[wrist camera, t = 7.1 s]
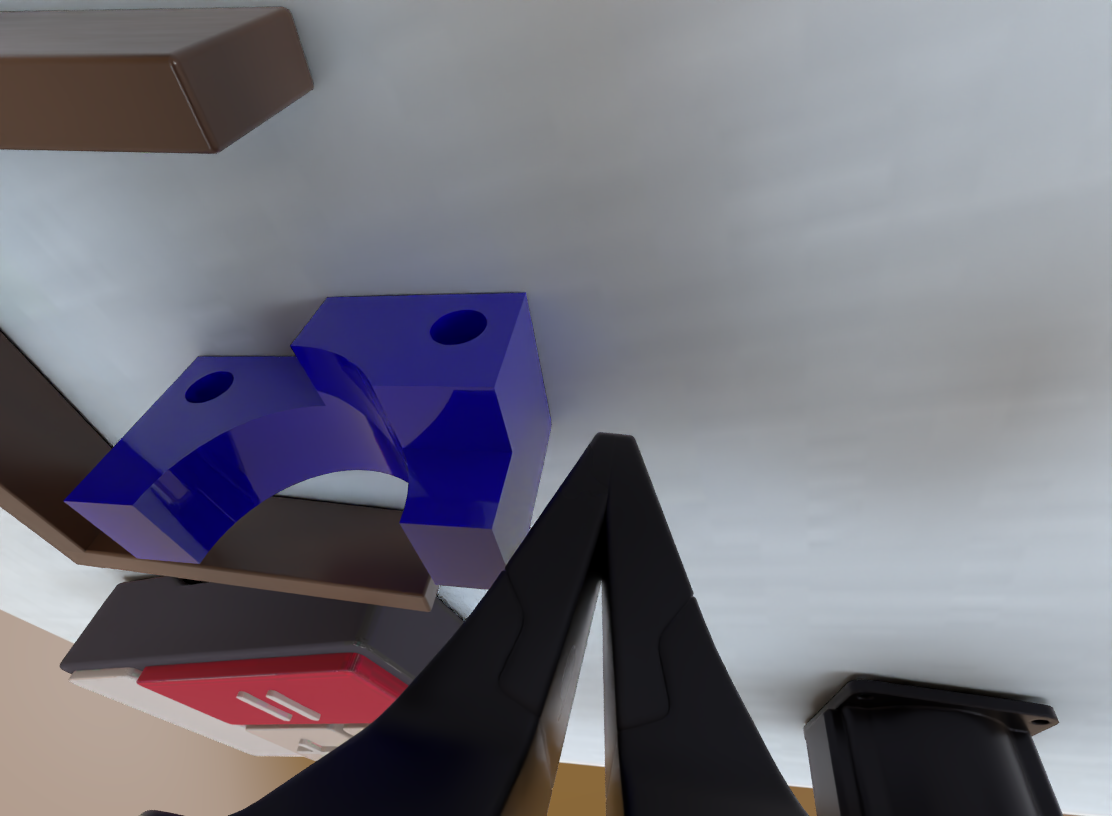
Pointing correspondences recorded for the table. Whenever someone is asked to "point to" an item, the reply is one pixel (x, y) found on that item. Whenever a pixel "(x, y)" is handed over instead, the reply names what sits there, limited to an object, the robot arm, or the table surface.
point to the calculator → (255, 661)
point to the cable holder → (347, 432)
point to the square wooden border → (169, 127)
